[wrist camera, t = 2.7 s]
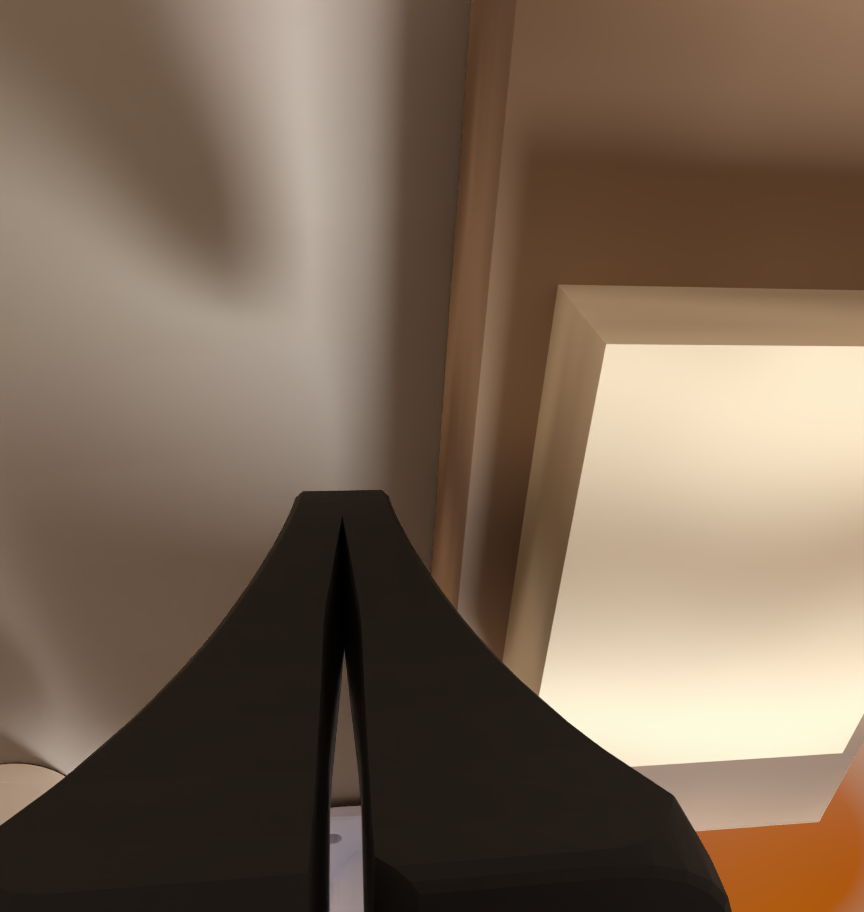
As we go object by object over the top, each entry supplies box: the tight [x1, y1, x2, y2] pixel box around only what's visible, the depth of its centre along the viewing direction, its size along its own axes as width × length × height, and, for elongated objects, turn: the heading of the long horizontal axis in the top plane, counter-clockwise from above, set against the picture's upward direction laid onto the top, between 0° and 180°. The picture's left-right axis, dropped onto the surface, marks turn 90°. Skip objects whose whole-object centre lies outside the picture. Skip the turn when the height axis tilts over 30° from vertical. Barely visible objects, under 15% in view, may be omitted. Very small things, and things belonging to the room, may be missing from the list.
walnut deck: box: [431, 0, 864, 831], centre depth 15 cm, size 18×10×4 cm, turn 177°
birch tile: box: [502, 285, 864, 767], centre depth 12 cm, size 8×6×2 cm
